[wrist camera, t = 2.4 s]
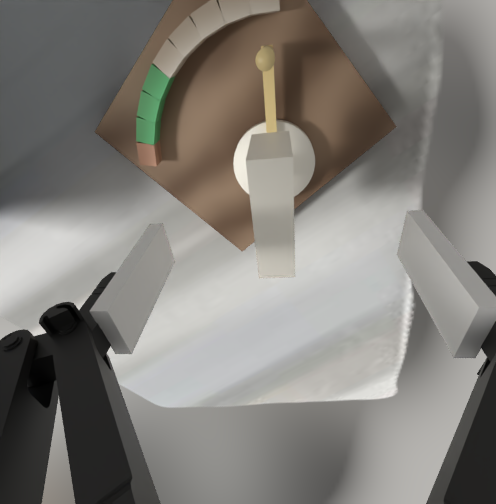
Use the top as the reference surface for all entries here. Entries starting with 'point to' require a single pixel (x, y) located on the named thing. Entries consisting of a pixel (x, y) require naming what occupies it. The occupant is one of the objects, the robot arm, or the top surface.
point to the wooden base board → (237, 102)
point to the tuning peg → (273, 178)
